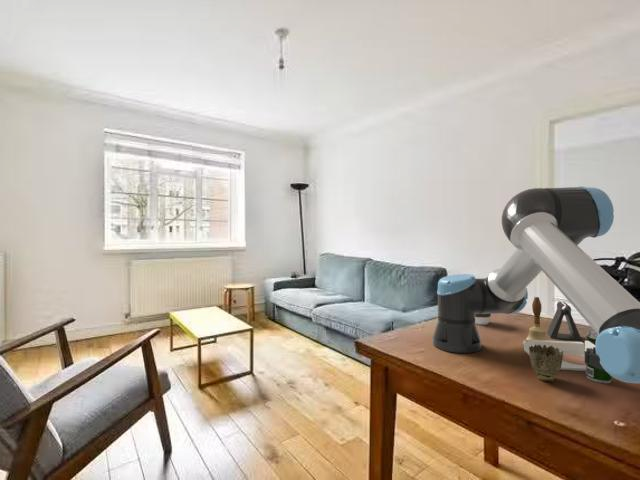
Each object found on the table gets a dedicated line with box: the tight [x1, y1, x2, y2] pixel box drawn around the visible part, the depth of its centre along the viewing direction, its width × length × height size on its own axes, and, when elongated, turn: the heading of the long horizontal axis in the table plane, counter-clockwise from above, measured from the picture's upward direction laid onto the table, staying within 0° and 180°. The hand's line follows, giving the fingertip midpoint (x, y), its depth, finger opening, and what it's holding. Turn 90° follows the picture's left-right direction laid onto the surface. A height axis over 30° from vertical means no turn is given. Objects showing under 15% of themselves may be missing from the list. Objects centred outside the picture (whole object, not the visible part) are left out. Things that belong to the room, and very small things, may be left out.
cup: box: [529, 344, 563, 382], centre depth 89 cm, size 8×7×8 cm
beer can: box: [585, 329, 614, 384], centre depth 89 cm, size 5×5×12 cm
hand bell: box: [522, 296, 549, 345], centre depth 114 cm, size 8×8×16 cm
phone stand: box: [546, 301, 582, 342], centre depth 121 cm, size 9×6×12 cm, turn 66°
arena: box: [523, 339, 586, 372], centre depth 101 cm, size 16×14×4 cm
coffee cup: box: [475, 314, 492, 326], centre depth 141 cm, size 11×11×12 cm
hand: (621, 348), depth 78 cm, fingers open, 13 cm apart
